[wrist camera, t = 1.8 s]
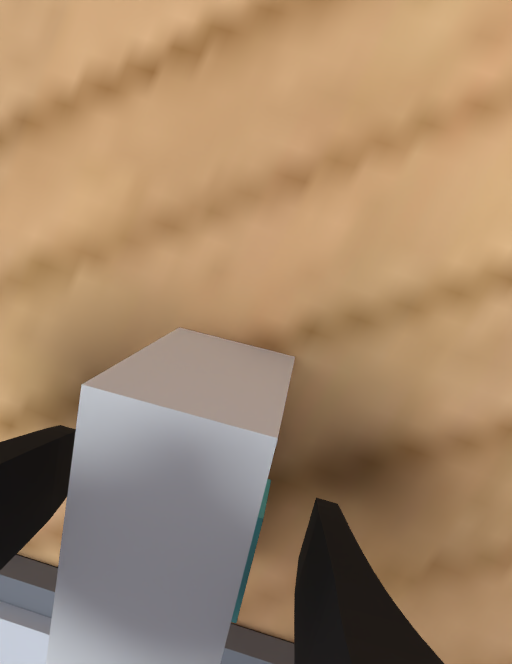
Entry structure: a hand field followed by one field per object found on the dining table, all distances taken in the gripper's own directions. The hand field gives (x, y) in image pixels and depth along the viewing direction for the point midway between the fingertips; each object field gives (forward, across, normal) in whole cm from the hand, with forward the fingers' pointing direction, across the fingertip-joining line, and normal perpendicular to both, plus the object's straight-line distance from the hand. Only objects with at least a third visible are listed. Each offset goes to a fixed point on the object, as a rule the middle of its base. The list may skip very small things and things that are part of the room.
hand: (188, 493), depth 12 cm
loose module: (+3, 0, 0) cm, 3 cm away
